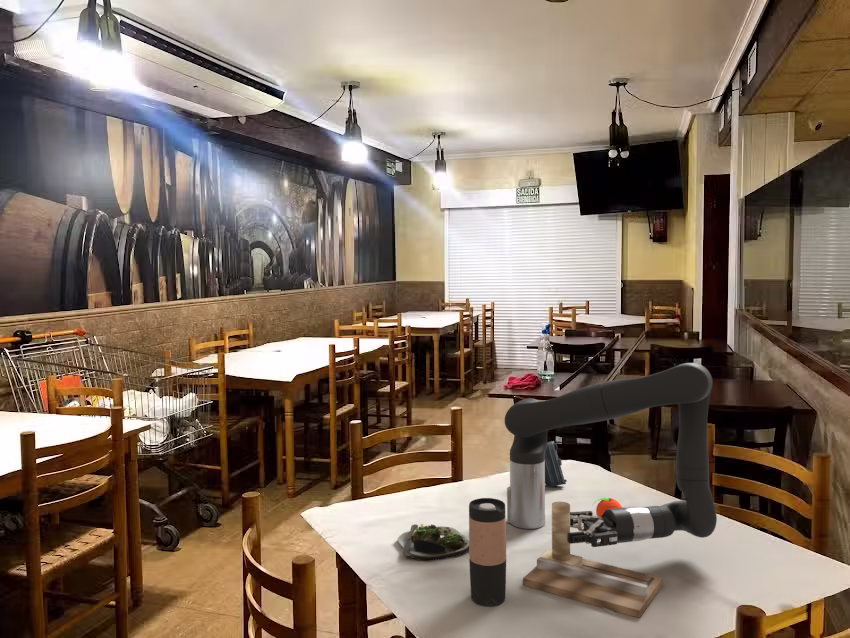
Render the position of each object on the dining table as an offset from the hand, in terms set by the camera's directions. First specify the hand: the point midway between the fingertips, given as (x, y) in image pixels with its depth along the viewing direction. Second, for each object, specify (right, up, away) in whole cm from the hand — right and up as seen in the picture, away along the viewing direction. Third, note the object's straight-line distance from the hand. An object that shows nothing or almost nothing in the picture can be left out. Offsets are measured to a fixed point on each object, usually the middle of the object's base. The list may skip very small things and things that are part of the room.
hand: (560, 530), depth 147 cm
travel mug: (-17, -11, -10) cm, 23 cm away
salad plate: (-28, -10, +16) cm, 34 cm away
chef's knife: (+6, -11, -10) cm, 16 cm away
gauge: (0, -8, +1) cm, 8 cm away
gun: (+6, -5, +60) cm, 60 cm away
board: (+6, -10, -5) cm, 13 cm away
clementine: (+18, -7, +28) cm, 34 cm away
